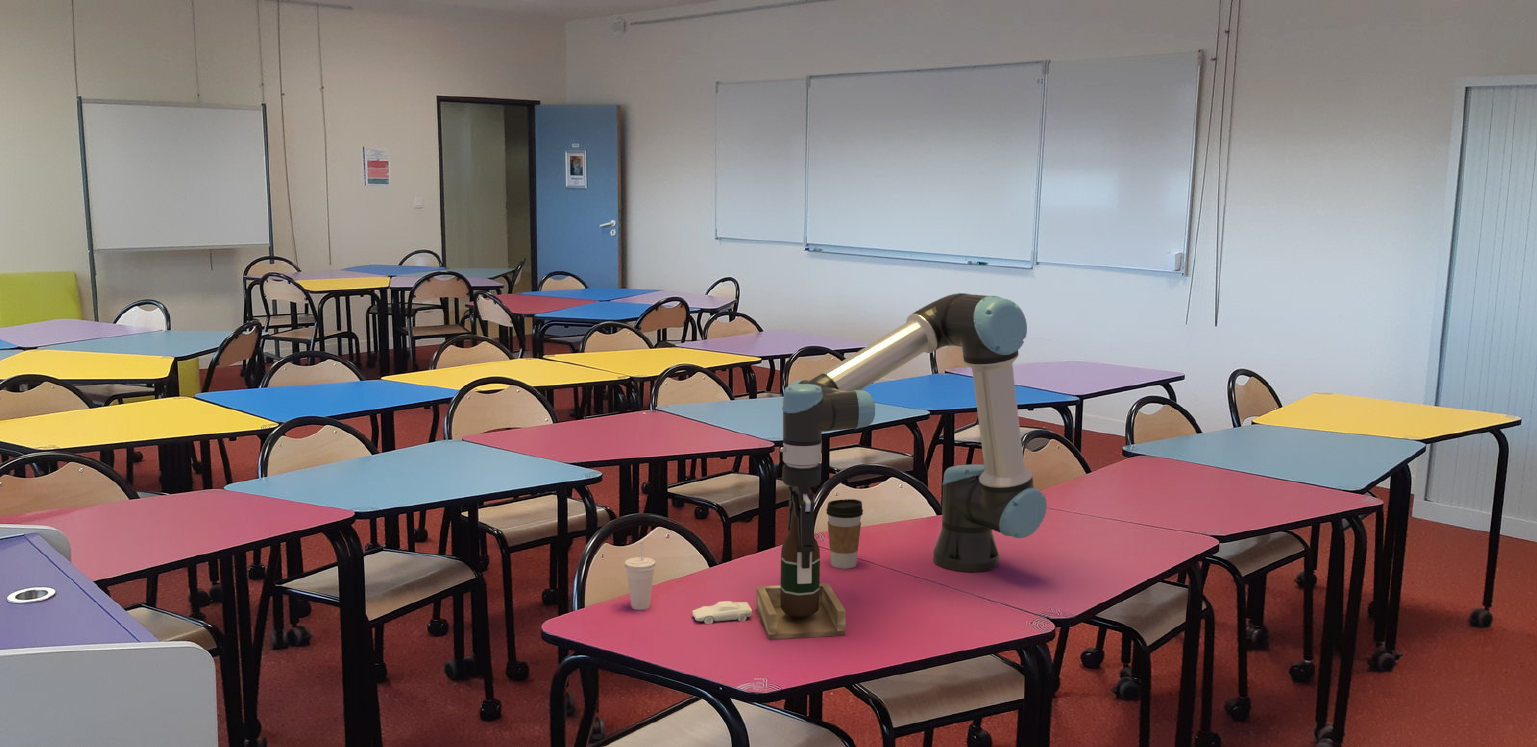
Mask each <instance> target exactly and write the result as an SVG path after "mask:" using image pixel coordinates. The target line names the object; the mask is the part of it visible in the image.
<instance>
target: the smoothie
mask: <svg viewBox="0 0 1537 747" xmlns="http://www.w3.org/2000/svg"><path fill="white" fill-rule="evenodd" d="M656 567H657V566H656V560H655V559H653V558H651V557H645V556H644V540H642V539H641V540H640V557H639V556H636V557H632V558H628V559H626V560H625V561H624V568H625V569H626V577H627V583H628V591H629V597H630V598H629V599H630V606H631V609H633V610H636V611H643V610H647V609H649V608H650V607H651V596H652V588H653V580H654V579H653V578H654V572H655V570H654V569H655V568H656Z"/></svg>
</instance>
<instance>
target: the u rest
mask: <svg viewBox="0 0 1537 747" xmlns="http://www.w3.org/2000/svg"><path fill="white" fill-rule="evenodd" d="M755 589H756V594H755V595H756V599H755V600H756V601H755V602H756V604H755V605H756V606H755V607H756V613H757V614H758V617H759V620H760V622H761V624H762V627H763V629H764V631H765V634H766V636H767V639H768V640H769V641H770V640H784V639H804V638H807V639H808V638H821V637H825V638H826V637H839V636H840V637H841V636H842V637H843V636H846V620H847V618H846V616H847V615H846V614H847V612H846V609H845V607H844V606H843V604H842V603H841V601H840V600H839V598H838V596H837V595H836V594H835V591H834V590H833V589H832V587H831V585H830V584H829V583H828V582H826V583H825V582H824V583H823V582H822V583H821V582H820V589H819V609H818V611H817V612H816V613H814V614H813V615H811V616H801V617H797V616H792V615H787V614H785V613H784V611H783V610H782V609H781V601H780V589H781V584H780V585H779V584H778V585H760V586H759V585H758V586H756V588H755Z"/></svg>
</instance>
